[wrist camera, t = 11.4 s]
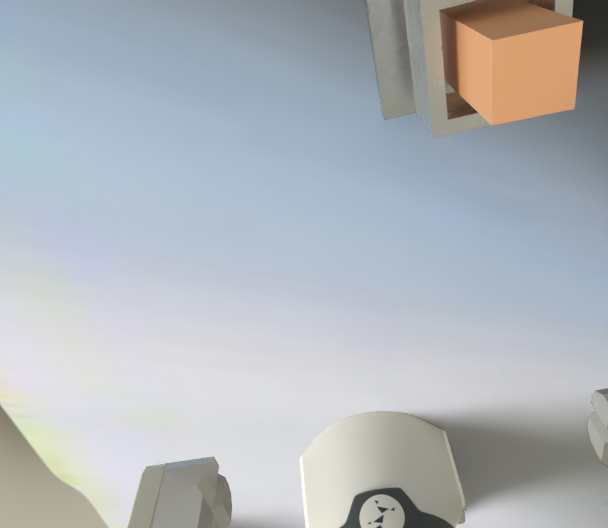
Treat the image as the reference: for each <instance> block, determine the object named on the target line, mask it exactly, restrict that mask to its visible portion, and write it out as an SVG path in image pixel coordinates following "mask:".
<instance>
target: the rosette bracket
mask: <svg viewBox="0 0 608 528" xmlns="http://www.w3.org/2000/svg"><path fill="white" fill-rule="evenodd" d="M472 1H476V0H365V5H366V11H367V18H368V25H369V31H370V38H371V44H372V51H373V58H374V64H375V71H376V77H377V84H378V91H379V97H380V104H381V110H382V116H383V117H384V119H385V120H387V119H391V118H395V117H399V116H403V115H407V114H411V113H416V115H417V116H418V118H419V119H420V120H421V122H422V123H423V125H424V126H425V127H426V129H427V130H428V132H429V133H430V134H431V136H432V137H433V139H434V138H438V137H442V136H446V135H451V134H455V133H459V132H463V131H467V130H472V129H476V128H480V127H484V126H489V125H491V124H490V123H489V122H488V121H487V120H486V119H484V118H483V117H482V116H481V115H480V114H479V113H478V112H477V111H476V110H475V109H474V108H473V107H472V106H471V105H470V104H469V103H468V102H467V101H466V100H465V99H464V98H462V97H461V96H460V95H459V94H458V93H457V92H456V91H455V90H454V89H453V88H452V87H451V86H450V85H449V84H448V83H447V82H446V81H445V79H444V66H443V54H442V41H441V28H440V16H439V10H441V9H445V8H449V7H453V6H457V5H460V4H464V3H468V2H472ZM520 1H523V2H526V3H529V4H532V5H536V6H539V7H542V8H545V9H548V10H551V11H554V12H557V13H560V14H564V15H567V16H570V17H572V12H573V0H520Z"/></svg>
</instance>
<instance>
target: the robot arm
mask: <svg viewBox="0 0 608 528" xmlns="http://www.w3.org/2000/svg"><path fill="white" fill-rule="evenodd" d="M591 404H592V406H593V408H594V409H595V411H594V412H593V413H592V414H591V415H590V416H589V418H588V431H589V436H590V441H591V443H592V445H593V448H594V450H595V452H596V454H597V455H598V457H599V459H600V461H601V462H602V463H603V464H605V465H607V466H608V388H607V389H601V390H596V391H594V393H593V394H592V397H591ZM300 468H301V480H302V492H303V503H304V514H305V524H306V528H456V526H457V524H462V523H464V522H465V513H464V511H465V510H466V503H465V498H464V494H463V491H462V487H461V484H460V480H459V476H458V473H457V469H456V466H455V462H454V459H453V455H452V452H451V449H450V445H449V442H448V438H447V435H446V431H443V430H442V429H439V428H437V427H435V426H433V425H431V424H430V423H428V422H426V421H424V420H422V419H420V418H417V417H414V416H411V415H408V414H404V413H399V412H391V411H376V412H367V413H361V414H357V415H353V416H350V417H347V418H344V419H342V420H340V421H338V422H336V423H334V424H332V425H331V426H329V427H328V428H326V429H325V430H324V431H323V432H321V433H320V434H319V435H318V436H317V437H316V438H315V439H314V441H313V442H312V443H311V444H310V446H309V447H308V448H307V450H306V451H305V452H304V453H303V454H302V456H301V457H300ZM218 469H219V465H218V463H217V461H216V459H215V458H214V457H207V458H200V459H193V460H187V461H180V462H173V463H166V464H160V465H154V466H148V467H146V469H145V470H144V472H143V473H142V475H141V479H140V483H139V487H138V490H137V494H136V498H135V502H134V506H133V509H132V513H131V517H130V521H129V525H128V528H226V527H227V526H228V524H229V523H230V521H231V514H232V501H231V492H230V488H229V484H228V482H227V480H226V478H225V477H224V476H222V475H220V474H218Z"/></svg>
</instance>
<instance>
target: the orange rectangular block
mask: <svg viewBox="0 0 608 528" xmlns="http://www.w3.org/2000/svg"><path fill="white" fill-rule="evenodd" d="M439 16H440V28H441V41H442V54H443V66H444V79H445V81H446V82H447V83H448V84H449V85H450V86H451V87H452V88H453V89H454V90H455V91H456V92H457V93H458V94H459V95H460V96H461V97H462V98H464V99H465V100H466V101H467V102H468V103H469V104H470V105H471V106H472V107H473V108H474V109H475V110H476V111H477V112H478V113H479V114H480V115H481V116H482V117H483V118H484V119H486V120H487V121H488V122H489V123H490V124H491V125H497V124H502V123H507V122H512V121H517V120H522V119H526V118H531V117H536V116H541V115H546V114H551V113H556V112H561V111H566V110H571V109H574V108H575V98H576V88H577V78H578V68H579V58H580V48H581V38H582V28H583V21H582V20H579V19H576V18H573V17H570V16H567V15H564V14H560V13H557V12H554V11H551V10H548V9H545V8H542V7H539V6H536V5H532V4H529V3H526V2H523V1H520V0H476V1H472V2H468V3H464V4H460V5H457V6H453V7H449V8H445V9H441V10H439Z"/></svg>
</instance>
